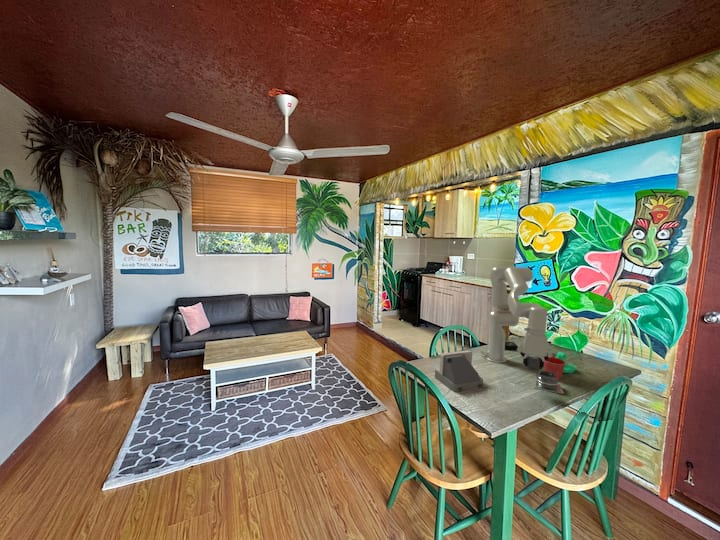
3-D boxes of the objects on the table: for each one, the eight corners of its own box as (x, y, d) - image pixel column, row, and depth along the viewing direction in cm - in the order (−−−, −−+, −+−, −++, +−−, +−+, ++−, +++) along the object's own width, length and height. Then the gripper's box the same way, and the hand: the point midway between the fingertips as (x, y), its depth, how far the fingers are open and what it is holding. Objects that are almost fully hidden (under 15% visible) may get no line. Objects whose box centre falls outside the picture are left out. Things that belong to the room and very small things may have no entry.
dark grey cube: (526, 369, 145) (527, 358, 144) (525, 364, 151) (526, 353, 150) (540, 371, 143) (541, 360, 142) (538, 366, 148) (539, 355, 147)
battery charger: (513, 347, 214) (513, 341, 214) (517, 351, 205) (518, 346, 204) (494, 345, 216) (494, 340, 216) (498, 350, 207) (498, 344, 206)
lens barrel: (533, 388, 152) (534, 376, 151) (531, 379, 162) (531, 368, 161) (563, 394, 146) (564, 381, 146) (559, 384, 156) (560, 372, 156)
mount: (565, 375, 169) (567, 357, 168) (551, 369, 175) (553, 353, 174) (577, 371, 174) (578, 354, 173) (563, 366, 181) (564, 350, 180)
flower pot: (569, 380, 161) (570, 363, 160) (551, 381, 159) (552, 364, 159) (553, 372, 172) (554, 356, 171) (536, 373, 170) (538, 356, 169)
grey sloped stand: (466, 372, 170) (467, 346, 168) (487, 389, 149) (489, 361, 148) (431, 374, 166) (432, 348, 164) (449, 392, 145) (450, 363, 144)
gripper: (517, 331, 144) (513, 366, 147) (558, 336, 138) (554, 373, 140) (515, 327, 151) (512, 360, 153) (555, 332, 144) (551, 367, 146)
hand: (532, 366), depth 147 cm, fingers closed on dark grey cube, 5 cm apart
